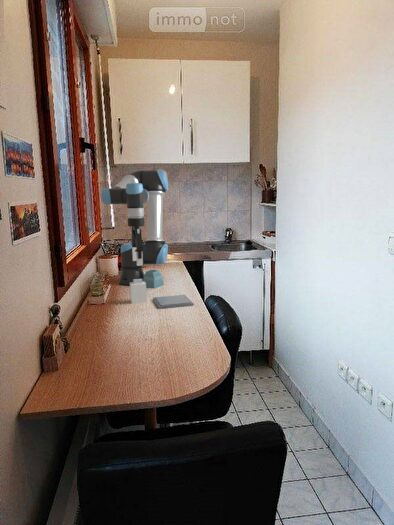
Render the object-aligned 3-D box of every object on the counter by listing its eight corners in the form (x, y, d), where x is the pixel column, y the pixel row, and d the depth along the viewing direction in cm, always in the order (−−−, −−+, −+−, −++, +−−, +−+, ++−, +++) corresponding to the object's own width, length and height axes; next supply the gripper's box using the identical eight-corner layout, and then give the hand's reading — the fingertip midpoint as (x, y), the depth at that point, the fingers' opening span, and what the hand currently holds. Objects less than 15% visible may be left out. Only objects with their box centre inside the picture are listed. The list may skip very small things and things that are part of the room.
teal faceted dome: (163, 269, 210) (164, 285, 211) (151, 268, 214) (151, 283, 216) (154, 272, 202) (154, 289, 204) (141, 271, 207) (141, 287, 209)
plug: (130, 300, 181) (129, 278, 180) (145, 299, 183) (144, 277, 181) (131, 303, 177) (130, 281, 175) (146, 302, 179) (145, 280, 177)
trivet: (152, 299, 183) (152, 296, 183) (184, 296, 187) (184, 294, 187) (159, 308, 168) (158, 306, 168) (193, 305, 172) (193, 302, 172)
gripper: (124, 216, 184) (126, 259, 187) (130, 219, 160) (133, 268, 164) (139, 215, 186) (141, 258, 190) (148, 218, 162) (150, 267, 166)
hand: (137, 263), depth 177 cm, fingers open, 13 cm apart
